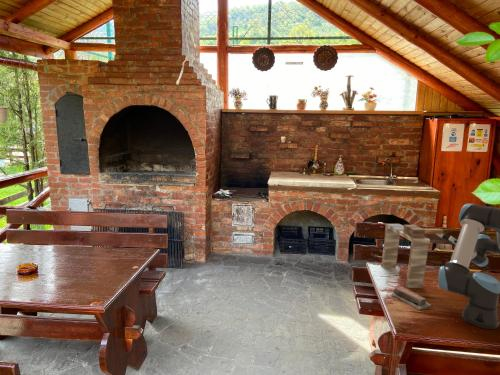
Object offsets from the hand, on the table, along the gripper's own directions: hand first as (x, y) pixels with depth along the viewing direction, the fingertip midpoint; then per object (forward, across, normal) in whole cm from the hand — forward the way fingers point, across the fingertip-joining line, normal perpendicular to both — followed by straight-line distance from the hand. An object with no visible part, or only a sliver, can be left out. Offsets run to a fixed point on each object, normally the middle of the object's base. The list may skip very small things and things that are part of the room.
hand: (442, 234), depth 212 cm
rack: (+1, +8, -36) cm, 37 cm away
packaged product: (+12, -23, -43) cm, 50 cm away
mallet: (+10, -1, -6) cm, 12 cm away
